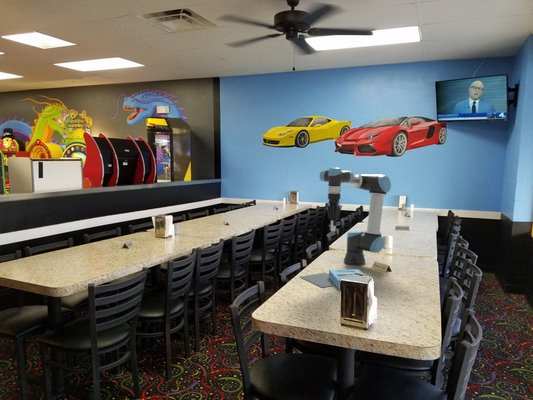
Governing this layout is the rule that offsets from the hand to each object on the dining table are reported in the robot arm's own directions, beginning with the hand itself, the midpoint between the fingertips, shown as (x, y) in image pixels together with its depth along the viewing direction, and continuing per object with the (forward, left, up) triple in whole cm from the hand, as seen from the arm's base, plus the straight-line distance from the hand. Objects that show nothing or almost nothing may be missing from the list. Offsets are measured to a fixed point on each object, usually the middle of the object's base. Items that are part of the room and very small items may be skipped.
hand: (333, 230), depth 237 cm
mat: (+7, +1, -30) cm, 31 cm away
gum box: (-7, +3, -27) cm, 28 cm away
